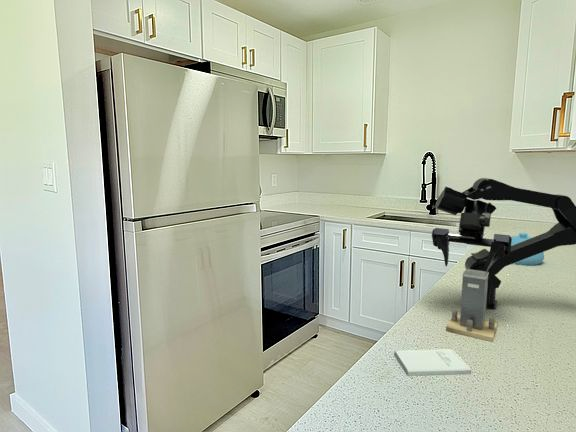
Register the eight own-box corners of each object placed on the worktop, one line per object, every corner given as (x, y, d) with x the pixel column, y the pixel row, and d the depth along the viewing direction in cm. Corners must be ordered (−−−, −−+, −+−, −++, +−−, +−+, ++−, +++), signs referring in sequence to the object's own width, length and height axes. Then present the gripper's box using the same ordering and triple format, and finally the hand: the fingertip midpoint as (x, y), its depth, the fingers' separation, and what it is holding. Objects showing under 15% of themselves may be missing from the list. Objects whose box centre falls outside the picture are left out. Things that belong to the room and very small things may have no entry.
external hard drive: (394, 356, 79) (451, 354, 80) (407, 378, 71) (471, 376, 72) (394, 349, 79) (451, 347, 80) (408, 370, 71) (471, 368, 72)
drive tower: (463, 318, 94) (466, 268, 92) (485, 323, 92) (488, 271, 90) (459, 325, 90) (462, 273, 88) (482, 330, 88) (485, 277, 86)
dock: (454, 316, 98) (455, 303, 97) (497, 325, 92) (498, 312, 92) (445, 330, 90) (446, 317, 89) (492, 341, 84) (493, 327, 84)
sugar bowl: (518, 255, 160) (520, 228, 159) (552, 264, 146) (555, 235, 144) (491, 258, 156) (493, 231, 154) (524, 267, 141) (526, 238, 140)
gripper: (435, 198, 101) (423, 245, 94) (515, 203, 92) (509, 256, 84) (439, 223, 109) (428, 268, 102) (512, 230, 99) (507, 280, 92)
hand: (465, 268), depth 94 cm, fingers open, 9 cm apart
